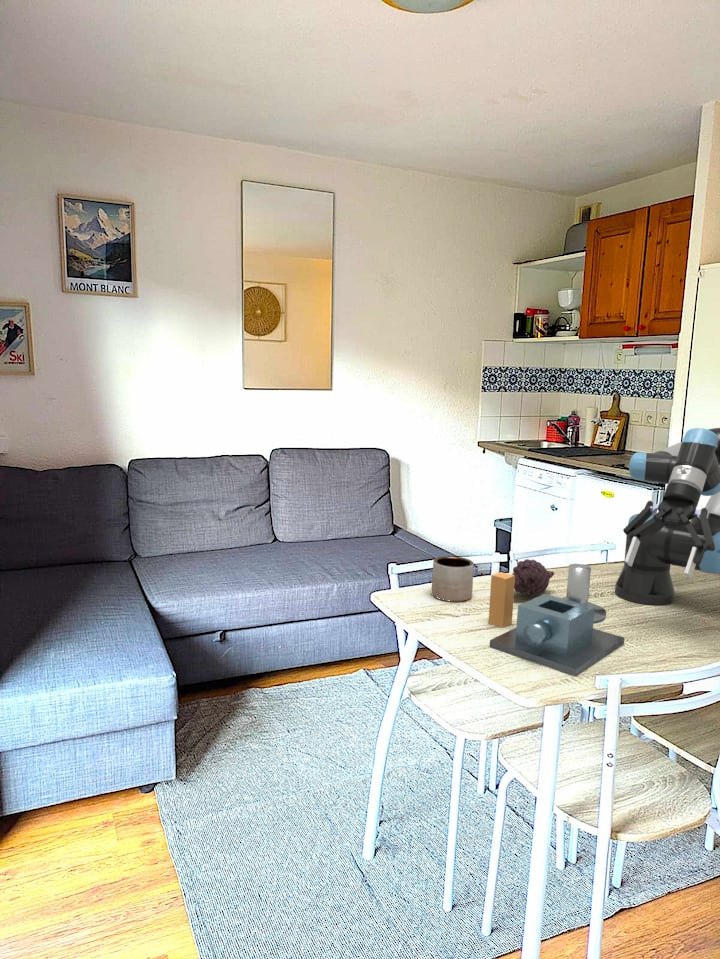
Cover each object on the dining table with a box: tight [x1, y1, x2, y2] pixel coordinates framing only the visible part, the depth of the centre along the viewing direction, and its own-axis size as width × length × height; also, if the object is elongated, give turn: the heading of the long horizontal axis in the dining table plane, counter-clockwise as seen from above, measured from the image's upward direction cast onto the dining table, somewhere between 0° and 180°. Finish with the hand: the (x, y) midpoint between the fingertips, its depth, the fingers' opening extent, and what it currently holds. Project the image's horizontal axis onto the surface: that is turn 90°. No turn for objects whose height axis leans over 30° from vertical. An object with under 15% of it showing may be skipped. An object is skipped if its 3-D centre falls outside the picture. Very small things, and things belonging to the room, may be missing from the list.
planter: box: [431, 555, 475, 602], centre depth 182 cm, size 11×11×10 cm
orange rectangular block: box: [488, 571, 515, 628], centre depth 162 cm, size 4×4×12 cm
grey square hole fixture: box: [489, 563, 625, 677], centre depth 151 cm, size 26×20×16 cm
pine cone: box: [511, 558, 555, 597], centre depth 184 cm, size 18×10×10 cm, turn 137°
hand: (656, 569), depth 155 cm, fingers open, 13 cm apart
